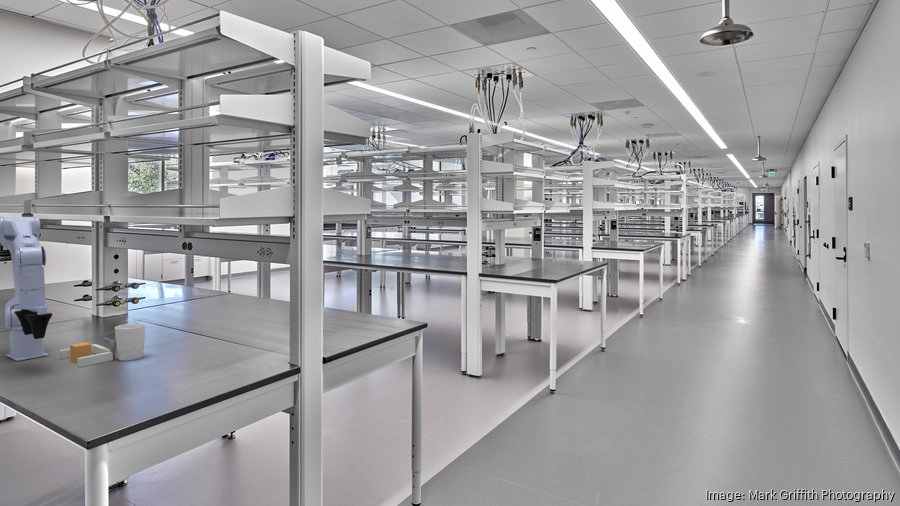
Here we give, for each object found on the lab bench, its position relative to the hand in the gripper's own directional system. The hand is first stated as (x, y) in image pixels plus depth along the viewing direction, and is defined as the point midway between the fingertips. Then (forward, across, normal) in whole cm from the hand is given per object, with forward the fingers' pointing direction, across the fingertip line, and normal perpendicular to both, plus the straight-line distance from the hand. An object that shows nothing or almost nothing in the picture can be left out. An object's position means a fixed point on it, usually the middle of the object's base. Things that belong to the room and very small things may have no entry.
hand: (34, 336), depth 143 cm
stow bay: (+9, +1, +12) cm, 15 cm away
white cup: (+10, +10, +21) cm, 25 cm away
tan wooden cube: (+10, +1, +11) cm, 14 cm away
